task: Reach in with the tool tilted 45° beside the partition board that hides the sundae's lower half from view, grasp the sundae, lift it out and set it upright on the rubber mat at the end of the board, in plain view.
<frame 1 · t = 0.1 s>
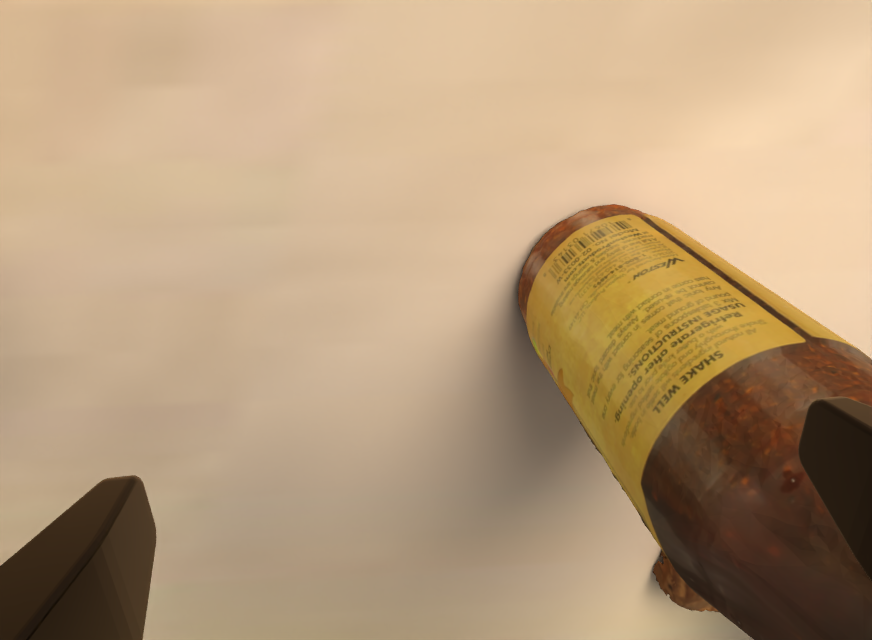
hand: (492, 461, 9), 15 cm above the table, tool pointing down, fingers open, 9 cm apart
bird sculpture: (793, 485, 31), on the table
sauce bottle: (598, 278, 25), on the table, touching gripper
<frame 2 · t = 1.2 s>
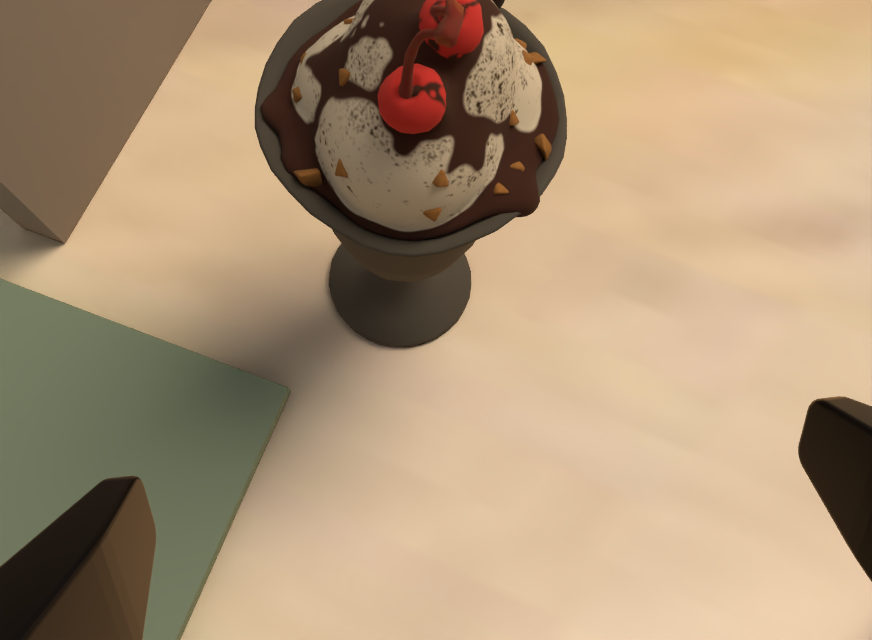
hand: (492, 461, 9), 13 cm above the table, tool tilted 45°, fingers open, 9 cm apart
rubber mat: (26, 503, 21), on the table
partition board: (153, 57, 26), on the table
sundae: (401, 282, 24), on the table
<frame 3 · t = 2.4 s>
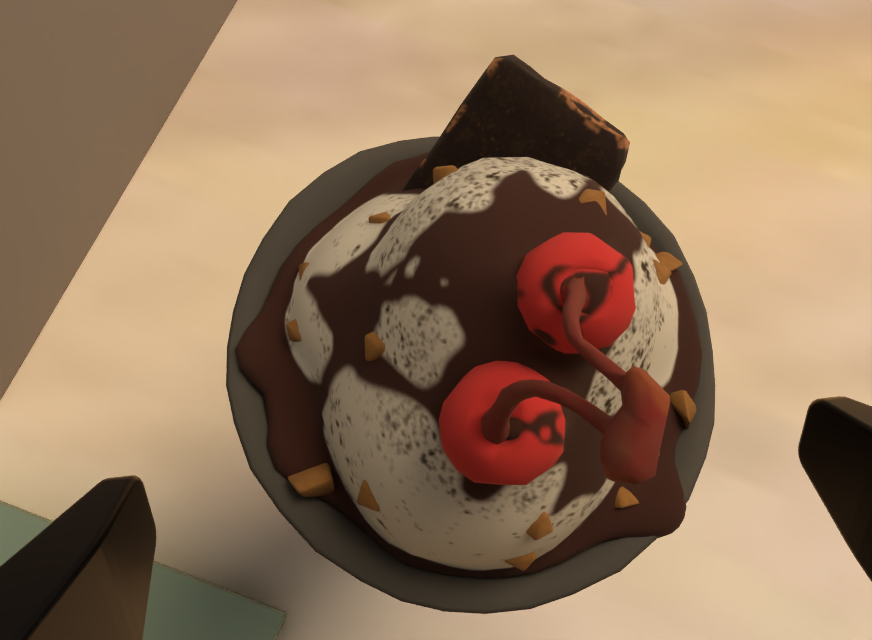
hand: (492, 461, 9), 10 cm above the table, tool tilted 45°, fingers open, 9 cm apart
partition board: (115, 155, 21), on the table
sundae: (430, 453, 19), on the table
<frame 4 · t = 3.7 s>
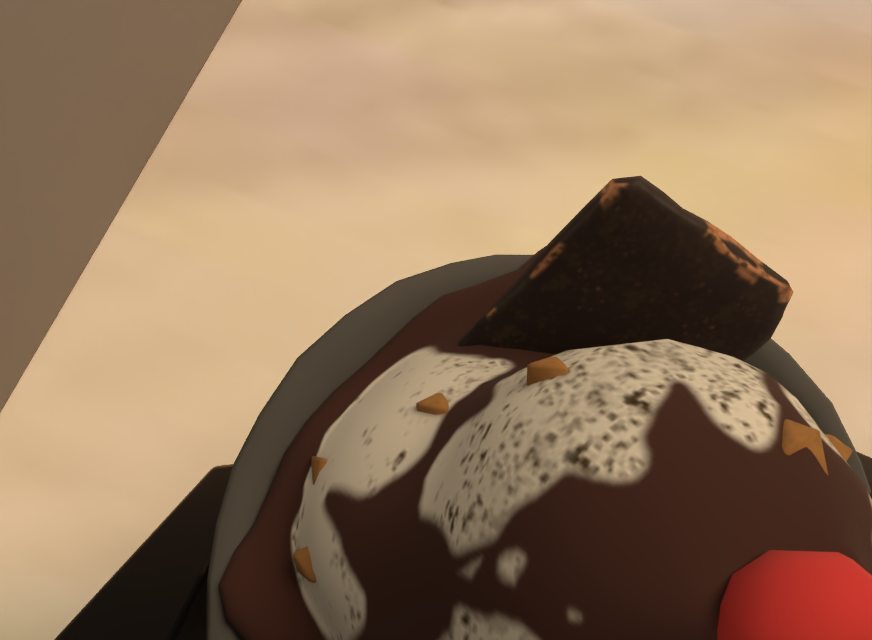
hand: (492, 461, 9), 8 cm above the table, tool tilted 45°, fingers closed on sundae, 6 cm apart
partition board: (86, 205, 18), on the table
sundae: (452, 562, 16), on the table, touching gripper
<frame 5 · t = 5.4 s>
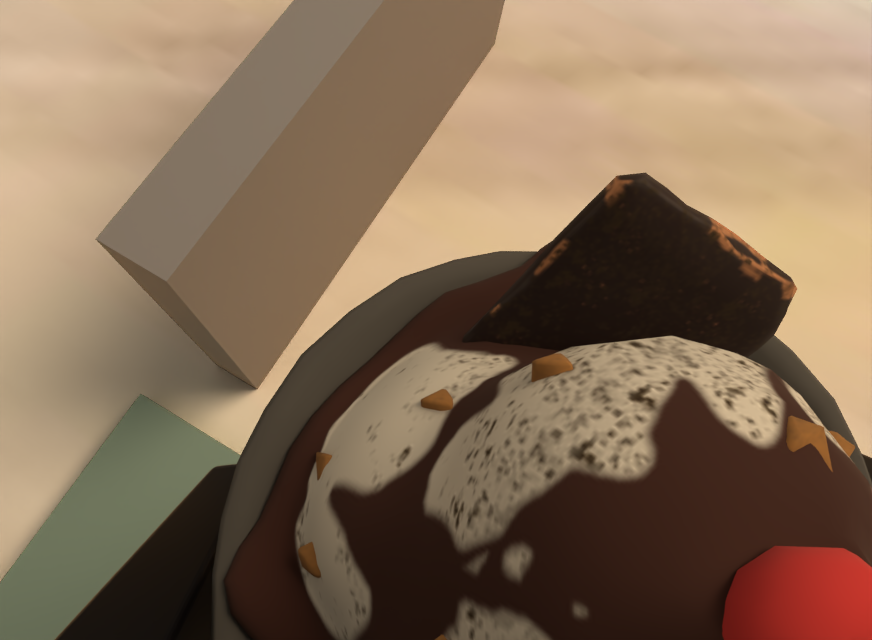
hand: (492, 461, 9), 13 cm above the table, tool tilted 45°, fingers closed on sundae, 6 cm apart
partition board: (367, 189, 25), on the table
sundae: (453, 558, 16), point 5 cm above the table, touching gripper
when the fingers open (9 cm above the table, at t = 7.3 s): sundae stays where it is, resting on rubber mat.
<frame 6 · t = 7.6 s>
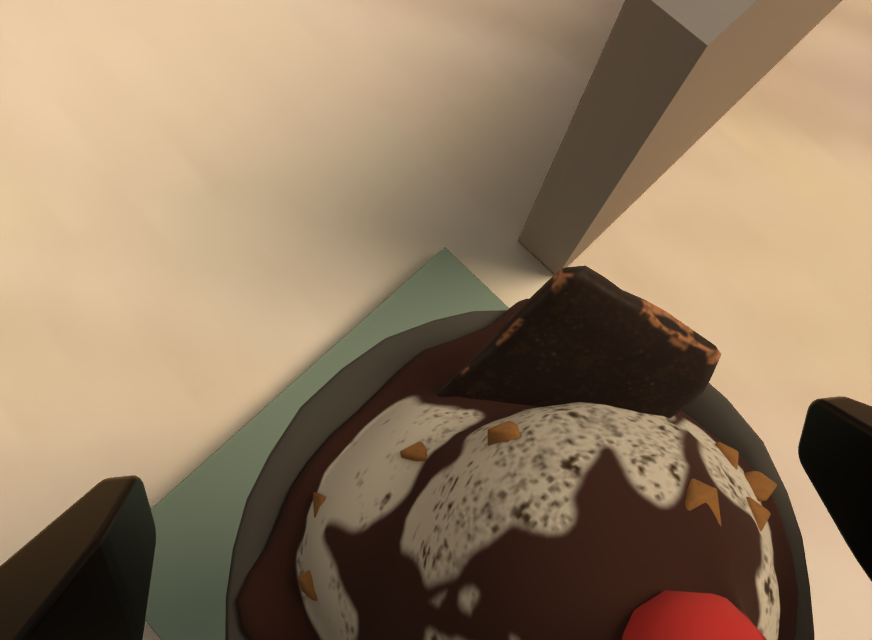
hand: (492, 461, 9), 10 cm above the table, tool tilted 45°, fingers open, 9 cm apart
rubber mat: (443, 559, 18), on the table
partition board: (698, 105, 23), on the table
sundae: (447, 563, 17), resting on rubber mat
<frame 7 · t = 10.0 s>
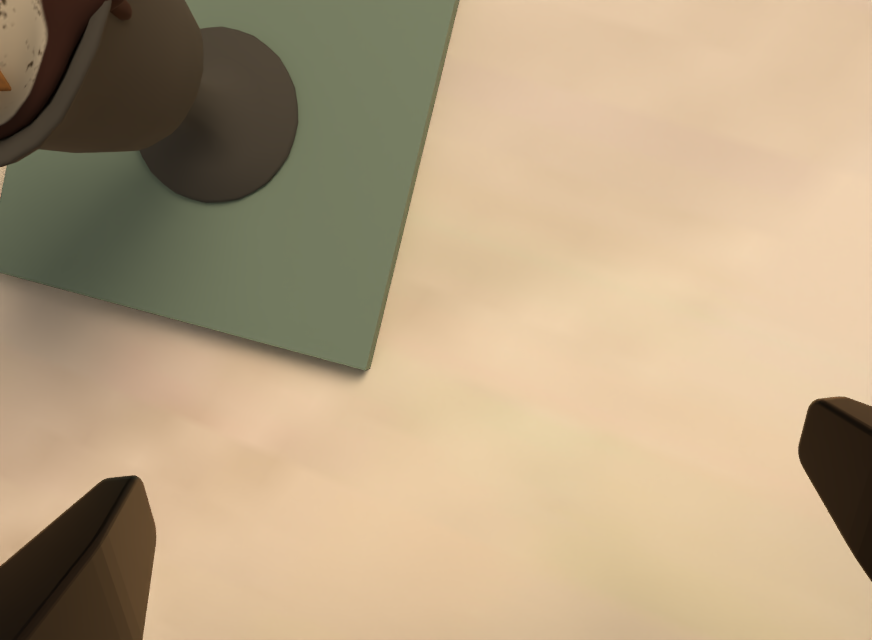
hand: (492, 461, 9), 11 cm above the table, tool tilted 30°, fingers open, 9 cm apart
rubber mat: (223, 119, 20), on the table
sundae: (220, 118, 20), resting on rubber mat
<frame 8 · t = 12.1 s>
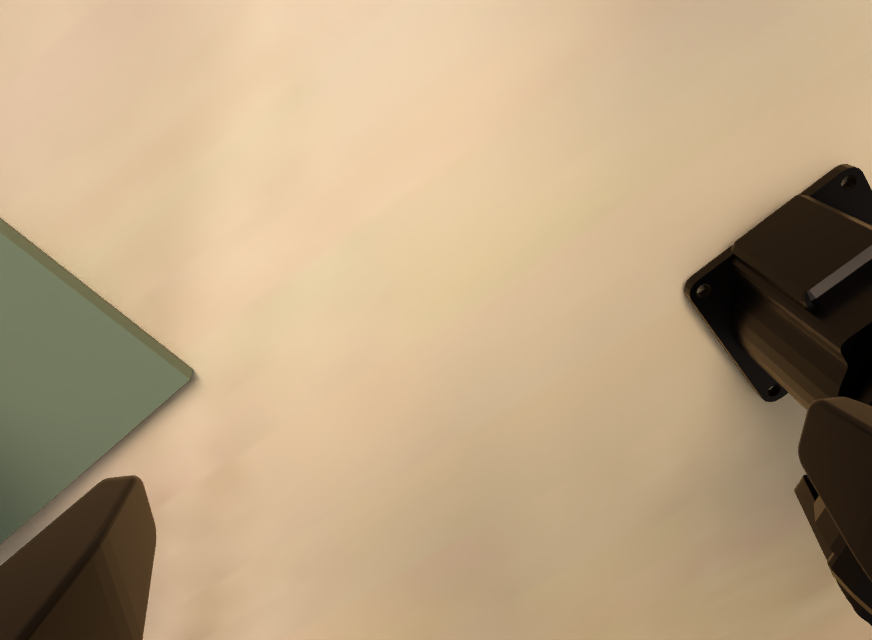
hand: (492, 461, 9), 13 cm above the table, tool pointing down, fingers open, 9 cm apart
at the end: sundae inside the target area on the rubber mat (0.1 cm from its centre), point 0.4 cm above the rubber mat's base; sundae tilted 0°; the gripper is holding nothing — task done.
